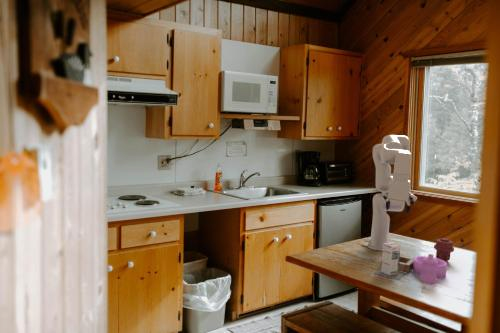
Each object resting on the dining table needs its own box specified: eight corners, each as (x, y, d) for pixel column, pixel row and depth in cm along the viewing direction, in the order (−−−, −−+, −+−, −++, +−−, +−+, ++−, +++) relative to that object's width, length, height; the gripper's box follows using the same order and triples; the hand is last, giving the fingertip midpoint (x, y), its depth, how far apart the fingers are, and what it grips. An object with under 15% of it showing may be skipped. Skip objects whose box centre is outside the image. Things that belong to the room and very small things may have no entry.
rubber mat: (373, 274, 233) (373, 273, 233) (381, 267, 243) (381, 267, 243) (399, 280, 227) (399, 279, 227) (405, 273, 237) (406, 272, 237)
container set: (413, 266, 249) (416, 241, 248) (445, 272, 244) (448, 246, 242) (410, 281, 226) (413, 254, 225) (445, 287, 221) (448, 259, 219)
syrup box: (389, 275, 232) (392, 245, 230) (380, 271, 237) (383, 242, 235) (398, 274, 234) (401, 244, 233) (389, 270, 239) (392, 241, 238)
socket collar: (381, 267, 245) (381, 259, 244) (389, 260, 256) (389, 253, 256) (408, 273, 238) (409, 265, 237) (415, 266, 249) (416, 259, 249)
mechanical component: (450, 259, 265) (454, 265, 255) (431, 257, 267) (434, 263, 257) (452, 237, 264) (456, 242, 254) (433, 235, 265) (436, 240, 256)
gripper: (381, 175, 239) (377, 209, 242) (417, 180, 230) (413, 215, 233) (386, 173, 246) (382, 206, 248) (421, 178, 236) (417, 213, 239)
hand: (397, 211), depth 240 cm, fingers open, 9 cm apart
